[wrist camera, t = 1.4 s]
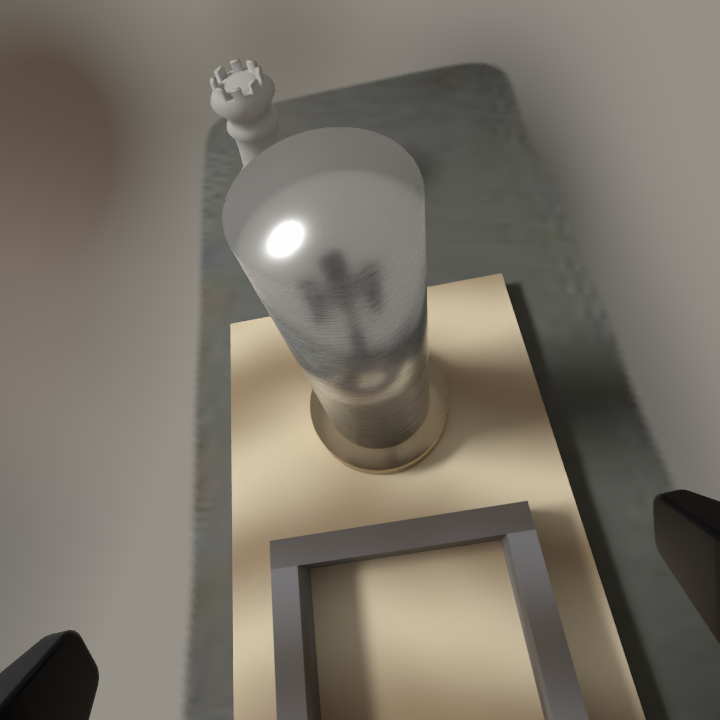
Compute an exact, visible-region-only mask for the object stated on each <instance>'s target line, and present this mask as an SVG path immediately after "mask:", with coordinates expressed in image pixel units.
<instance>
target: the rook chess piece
mask: <svg viewBox="0 0 720 720" xmlns="http://www.w3.org/2000/svg"><path fill="white" fill-rule="evenodd" d="M230 63H231V66H232V69H233V70H232V71H230V72H228V73H226V72H225V69H224V68H223V67H222V66H219V67H218V68H217V69H216V70H215V71H214V73H215V76H216V78H217V79H216V78H210V85H211V87H212V90H213V92H212V96H211V107H212V108H213V109H214V111H215V112H216V113H217V114H219V115H221V116H223V117H225V118H227V119H228V122H227V131H228V133H229V134H230V135H231V137H233V138H235V140H236V142H237V145H238V148H239V151H240V155H241V159H242V163H243V169H244V167H245V166H246V165H247V164H248V163H249V162H250V161H251V160H253V159H254V158H255V157H256V156H257V155H259V154H260V153H261V152H263V151H264V150H266V149H267V148H269V147H270V146H272V145H274V144H276V143H277V142H279V141H282V140H284V139H285V138H284V136H283V134H282V132H281V130H280V127H279V124H278V121H279V119H280V118H279V111H278V110H277V109H276V108H275V107H274V106H272V105H271V101H272V98H273V96H274V93H275V85H274V82H273V81H272V80H271V79H270V78H269V76H267V75H265V74H264V73H263V72H262V69H261V67H260V66H259V67H258V65H257V62H256V61H254V60H251V59H248V60H247V61H246V64H247V67H248V68H243V67H242V64H241V62H240V59H235V60H231V61H230ZM243 169H242V170H243Z"/></svg>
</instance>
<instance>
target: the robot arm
mask: <svg viewBox="0 0 720 720" xmlns="http://www.w3.org/2000/svg"><path fill="white" fill-rule="evenodd" d="M653 516H654V531H655V542H656V546H657V549H658V551H659V553H660V555H661V557H662V558H663V560H664V562H665V563H666V565H667V566H668V568H669V569H670V571H671V572H672V574H673V575H674V577H675V578H676V580H677V581H678V583H679V584H680V586H681V587H682V589H683V590H684V592H685V593H686V595H687V596H688V598H689V599H690V601H691V602H692V604H693V605H694V607H695V608H696V610H697V611H698V613H699V614H700V616H701V617H702V619H703V620H704V622H705V623H706V625H707V626H708V628H709V629H710V631H711V632H712V634H713V635H714V637H715V638H716V640H717V641H718V643H719V644H720V502H719V501H717V500H714V499H711V498H708V497H705V496H702V495H699V494H696V493H693V492H691V491H687V490H675V491H671V492H666V493H662V494H658V495H657V496H656V497H655V498H654V500H653ZM98 680H99V672H98V668H97V665H96V663H95V662H94V660H93V658H92V656H91V654H90V652H89V650H88V649H87V647H86V645H85V643H84V641H83V640H82V638H81V636H80V635H79V633H77V632H76V631H73V630H68V631H63V632H59V633H55V634H51V635H48V636H46V637H44V638H43V639H41V640H40V641H39V642H38V643H36V644H35V645H34V646H33V647H31V648H30V649H29V650H28V651H26V652H25V653H24V654H23V655H22V656H20V657H19V658H18V659H17V660H16V661H14V662H13V663H12V664H11V665H9V666H8V667H7V668H6V669H5V670H4V671H2V672H1V673H0V720H89V716H90V713H91V709H92V705H93V702H94V698H95V694H96V691H97V686H98Z"/></svg>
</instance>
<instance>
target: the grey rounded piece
mask: <svg viewBox="0 0 720 720" xmlns="http://www.w3.org/2000/svg"><path fill="white" fill-rule="evenodd" d="M222 220H223V229H224V233H225V237H226V239H227V241H228V243H229V246H230V248H231V249H232V251H233V253H234V254H235V256H236V258H237V260H238V261H239V263H240V265H241V266H242V268H243V270H244V272H245V273H246V275H247V277H248V279H249V280H250V282H251V284H252V285H253V287H254V289H255V291H256V292H257V294H258V296H259V297H260V299H261V301H262V303H263V304H264V306H265V308H266V309H267V311H268V313H269V315H270V316H271V318H272V320H273V321H274V323H275V325H276V327H277V328H278V330H279V332H280V334H281V335H282V337H283V339H284V340H285V342H286V344H287V346H288V347H289V349H290V351H291V352H292V354H293V356H294V358H295V359H296V361H297V363H298V364H299V366H300V368H301V370H302V371H303V373H304V375H305V376H306V378H307V380H308V382H309V383H310V385H311V387H312V392H311V398H310V413H311V419H312V423H313V426H314V429H315V431H316V433H317V435H318V436H319V438H320V440H321V441H322V443H323V444H324V445H325V447H326V448H327V450H328V451H329V452H330V453H331V454H332V455H333V457H335V458H336V459H337V460H338V461H339V462H341V463H342V464H344V465H345V466H347V467H349V468H351V469H353V470H355V471H358V472H361V473H365V474H371V475H389V474H395V473H399V472H402V471H405V470H408V469H410V468H412V467H414V466H416V465H417V464H419V463H420V462H422V461H423V460H424V459H425V458H426V457H428V456H429V455H430V454H431V453H432V451H433V450H434V449H435V448H436V447H437V445H438V443H439V442H440V440H441V438H442V436H443V434H444V431H445V428H446V425H447V419H448V410H449V394H448V387H447V384H446V381H445V378H444V376H443V374H442V372H441V370H440V368H439V367H438V365H437V364H436V363H435V361H434V360H433V359H432V358H431V357H430V356H429V352H428V314H427V276H426V239H425V201H424V184H423V178H422V175H421V172H420V170H419V167H418V166H417V164H416V162H415V160H414V159H413V158H412V157H411V155H410V154H409V153H408V152H407V151H406V150H405V149H404V148H403V147H402V146H400V145H399V144H397V143H396V142H394V141H393V140H391V139H389V138H387V137H385V136H383V135H381V134H378V133H375V132H372V131H368V130H364V129H359V128H350V127H330V128H321V129H315V130H310V131H306V132H303V133H299V134H296V135H294V136H291V137H288V138H286V139H284V140H282V141H279V142H277V143H276V144H274V145H272V146H270V147H269V148H267V149H266V150H264V151H263V152H261V153H260V154H259V155H257V156H256V157H255V158H254V159H253V160H251V161H250V162H249V163H248V164H247V165H246V166H245V167H244V169H243V170H242V171H241V172H240V173H239V175H238V176H237V177H236V179H235V180H234V182H233V184H232V185H231V187H230V189H229V191H228V194H227V196H226V199H225V203H224V207H223V217H222Z"/></svg>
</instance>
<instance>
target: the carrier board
mask: <svg viewBox="0 0 720 720" xmlns="http://www.w3.org/2000/svg"><path fill="white" fill-rule="evenodd" d="M427 314H428V352H429V356H430V357H431V358H432V359H433V360H434V361H435V363H436V364H437V365H438V367H439V368H440V370H441V372H442V374H443V376H444V378H445V381H446V384H447V387H448V394H449V410H448V419H447V425H446V428H445V431H444V434H443V436H442V438H441V440H440V442H439V443H438V445H437V447H436V448H435V449H434V450H433V451H432V453H431V454H430V455H429V456H428V457H426V458H425V459H424V460H423V461H422V462H420V463H419V464H417V465H416V466H414V467H412V468H410V469H408V470H405V471H402V472H399V473H395V474H389V475H371V474H365V473H361V472H358V471H355V470H353V469H351V468H349V467H347V466H345V465H344V464H342V463H341V462H339V461H338V460H337V459H336V458H335V457H333V455H332V454H331V453H330V452H329V451H328V450H327V448H326V447H325V445H324V444H323V443H322V441H321V440H320V438H319V436H318V435H317V433H316V431H315V429H314V426H313V423H312V419H311V413H310V398H311V392H312V387H311V385H310V383H309V382H308V380H307V378H306V376H305V375H304V373H303V371H302V370H301V368H300V366H299V364H298V363H297V361H296V359H295V358H294V356H293V354H292V352H291V351H290V349H289V347H288V346H287V344H286V342H285V340H284V339H283V337H282V335H281V334H280V332H279V330H278V328H277V327H276V325H275V323H274V321H273V320H272V318H271V317H265V318H260V319H254V320H249V321H244V322H238V323H233V324H231V437H232V558H233V679H234V720H646V719H645V716H644V713H643V710H642V707H641V704H640V701H639V697H638V694H637V691H636V688H635V685H634V682H633V679H632V676H631V673H630V670H629V666H628V663H627V660H626V657H625V654H624V651H623V648H622V645H621V642H620V639H619V635H618V632H617V629H616V626H615V623H614V620H613V617H612V614H611V611H610V608H609V605H608V601H607V598H606V595H605V592H604V589H603V586H602V583H601V580H600V577H599V574H598V570H597V567H596V564H595V561H594V558H593V555H592V552H591V549H590V546H589V543H588V540H587V536H586V533H585V530H584V527H583V524H582V521H581V518H580V515H579V512H578V509H577V505H576V502H575V499H574V496H573V493H572V490H571V487H570V484H569V481H568V478H567V475H566V471H565V468H564V465H563V462H562V459H561V456H560V453H559V450H558V447H557V444H556V440H555V437H554V434H553V431H552V428H551V425H550V422H549V419H548V416H547V413H546V409H545V406H544V403H543V400H542V397H541V394H540V391H539V388H538V385H537V382H536V379H535V375H534V372H533V369H532V366H531V363H530V360H529V357H528V354H527V351H526V348H525V344H524V341H523V338H522V335H521V332H520V329H519V326H518V323H517V320H516V317H515V314H514V310H513V307H512V304H511V301H510V298H509V295H508V292H507V289H506V286H505V283H504V279H503V276H502V273H501V274H495V275H490V276H485V277H479V278H474V279H469V280H463V281H458V282H453V283H447V284H442V285H437V286H431V287H427Z"/></svg>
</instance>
